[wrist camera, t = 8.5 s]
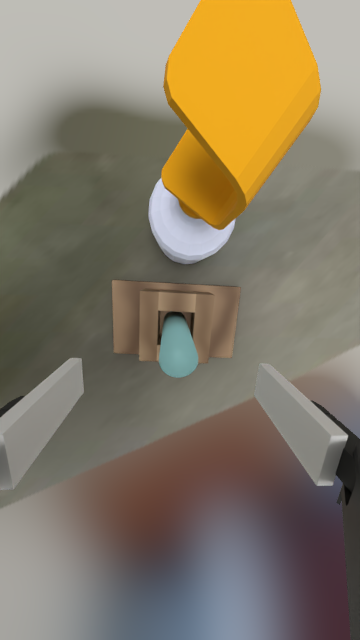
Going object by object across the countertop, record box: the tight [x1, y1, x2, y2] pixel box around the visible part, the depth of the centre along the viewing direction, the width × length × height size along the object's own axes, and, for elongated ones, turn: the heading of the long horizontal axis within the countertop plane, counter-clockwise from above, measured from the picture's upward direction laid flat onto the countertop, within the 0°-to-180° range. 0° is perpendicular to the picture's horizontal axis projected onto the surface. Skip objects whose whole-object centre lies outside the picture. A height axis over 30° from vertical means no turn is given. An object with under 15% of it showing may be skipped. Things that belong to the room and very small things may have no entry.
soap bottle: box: [148, 0, 321, 264], centre depth 17 cm, size 9×9×25 cm
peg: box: [159, 311, 198, 378], centre depth 24 cm, size 4×4×14 cm
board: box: [112, 280, 241, 363], centre depth 29 cm, size 20×12×6 cm, turn 87°
